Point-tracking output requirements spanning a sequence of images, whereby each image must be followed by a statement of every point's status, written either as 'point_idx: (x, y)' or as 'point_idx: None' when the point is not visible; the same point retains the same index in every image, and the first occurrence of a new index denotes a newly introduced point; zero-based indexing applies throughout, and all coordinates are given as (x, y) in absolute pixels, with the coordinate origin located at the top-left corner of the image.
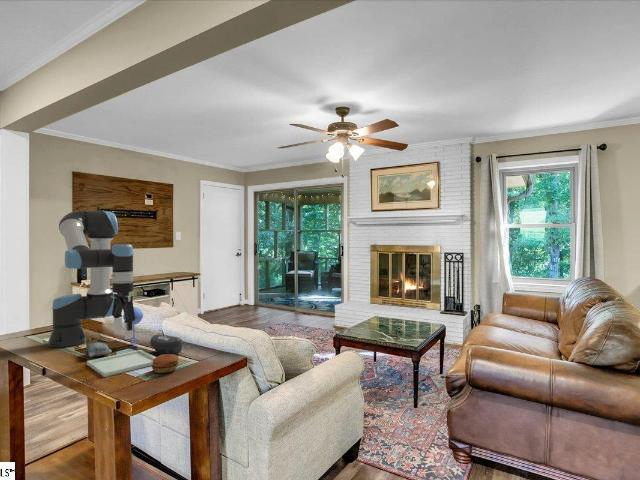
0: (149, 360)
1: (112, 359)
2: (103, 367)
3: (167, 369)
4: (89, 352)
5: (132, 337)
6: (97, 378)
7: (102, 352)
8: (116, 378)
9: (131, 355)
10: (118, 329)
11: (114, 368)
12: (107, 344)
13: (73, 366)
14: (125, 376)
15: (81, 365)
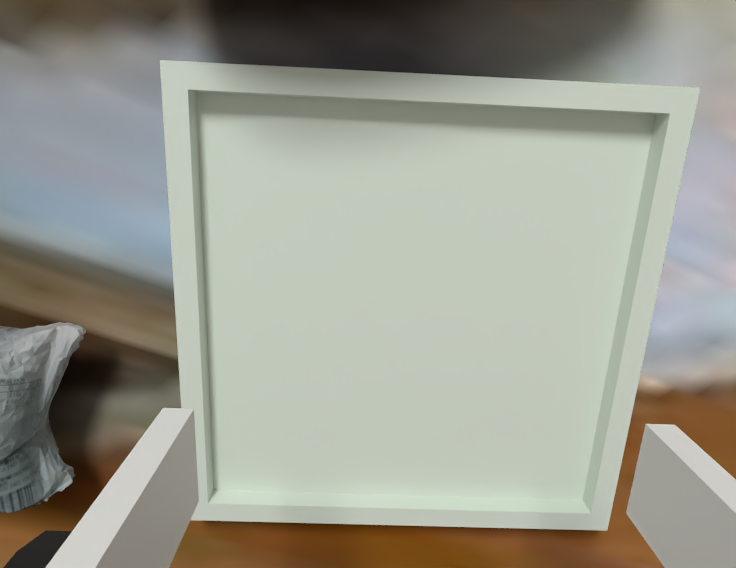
0: (533, 143)
1: (229, 348)
2: (399, 462)
3: None
4: (35, 497)
5: (678, 433)
6: (573, 538)
7: (52, 394)
8: None
9: (227, 187)
10: (171, 500)
11: (494, 421)
12: None
13: None
14: (703, 417)
15: None
